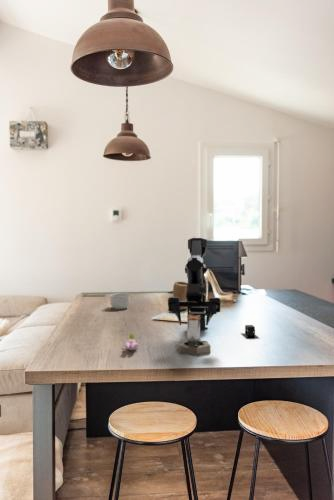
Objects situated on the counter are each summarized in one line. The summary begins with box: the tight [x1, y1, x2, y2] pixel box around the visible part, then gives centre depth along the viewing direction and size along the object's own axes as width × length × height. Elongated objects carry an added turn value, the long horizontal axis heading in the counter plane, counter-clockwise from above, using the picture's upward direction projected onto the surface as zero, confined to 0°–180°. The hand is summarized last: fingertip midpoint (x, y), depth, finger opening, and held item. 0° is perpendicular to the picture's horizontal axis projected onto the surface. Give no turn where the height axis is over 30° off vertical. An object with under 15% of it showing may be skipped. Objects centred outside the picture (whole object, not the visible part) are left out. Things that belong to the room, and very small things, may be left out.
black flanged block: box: [240, 324, 261, 340], centre depth 173 cm, size 12×7×5 cm, turn 4°
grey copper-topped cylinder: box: [186, 314, 201, 346], centre depth 151 cm, size 5×5×12 cm
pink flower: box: [122, 332, 141, 351], centre depth 153 cm, size 6×6×15 cm
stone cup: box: [172, 280, 188, 310], centre depth 238 cm, size 15×12×15 cm
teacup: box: [109, 292, 131, 311], centre depth 240 cm, size 14×11×8 cm
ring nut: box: [177, 339, 211, 356], centre depth 151 cm, size 11×12×2 cm
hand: (193, 324), depth 149 cm, fingers open, 9 cm apart
